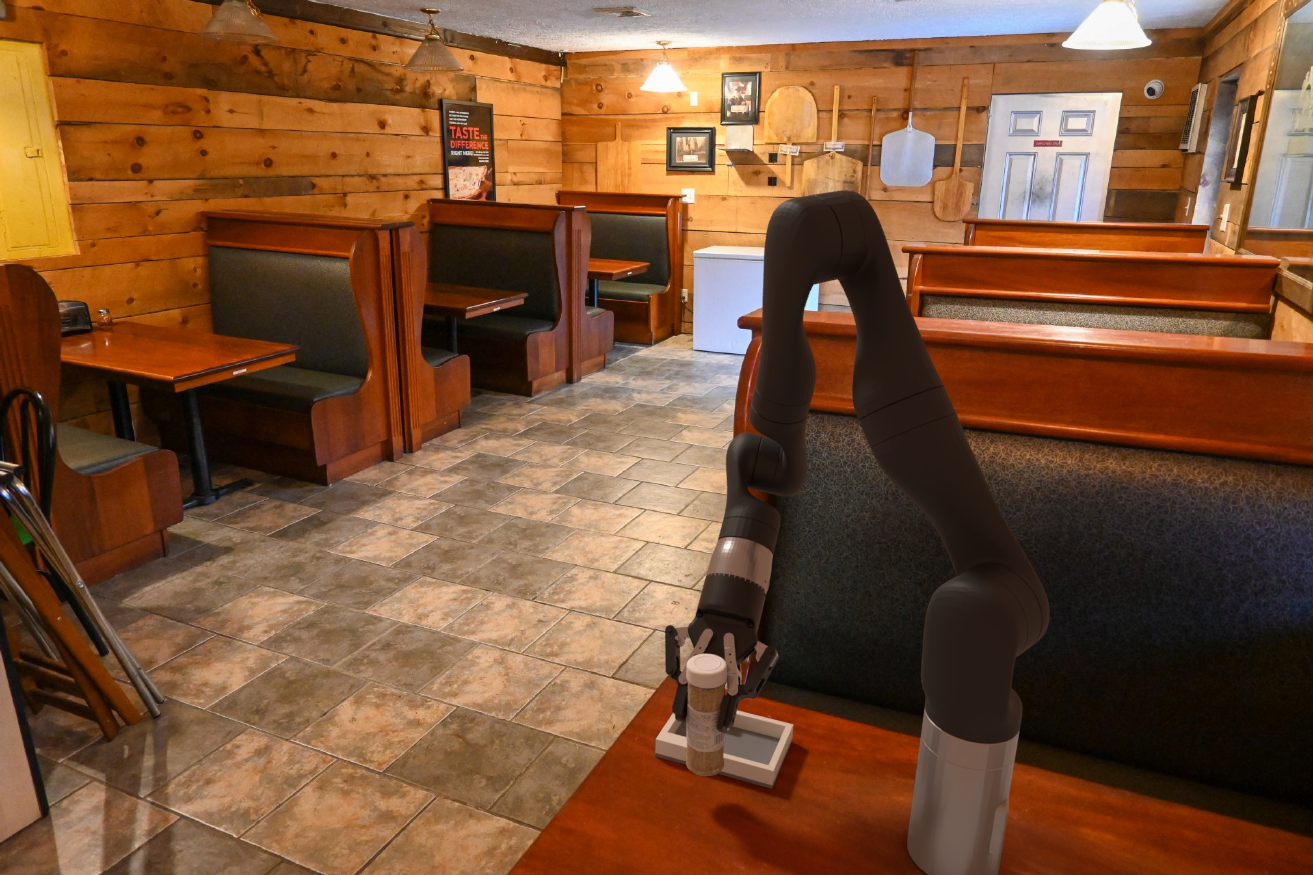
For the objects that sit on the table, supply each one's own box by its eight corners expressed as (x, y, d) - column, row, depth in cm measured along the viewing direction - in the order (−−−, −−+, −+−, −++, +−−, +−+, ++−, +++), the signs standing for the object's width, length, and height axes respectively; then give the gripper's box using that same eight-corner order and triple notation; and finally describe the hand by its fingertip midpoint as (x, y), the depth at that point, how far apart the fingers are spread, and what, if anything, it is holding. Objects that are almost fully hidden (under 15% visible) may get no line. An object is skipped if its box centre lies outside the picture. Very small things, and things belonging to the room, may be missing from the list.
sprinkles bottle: (706, 748, 103) (708, 647, 99) (732, 767, 100) (735, 664, 96) (677, 763, 100) (678, 660, 97) (703, 783, 97) (705, 678, 93)
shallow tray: (792, 741, 111) (793, 724, 111) (772, 788, 103) (773, 770, 102) (683, 712, 117) (683, 696, 116) (655, 756, 108) (655, 738, 107)
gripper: (673, 561, 103) (632, 703, 96) (790, 582, 98) (756, 733, 91) (688, 584, 110) (650, 719, 102) (798, 604, 104) (767, 748, 97)
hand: (700, 724), depth 96 cm, fingers closed on sprinkles bottle, 4 cm apart
